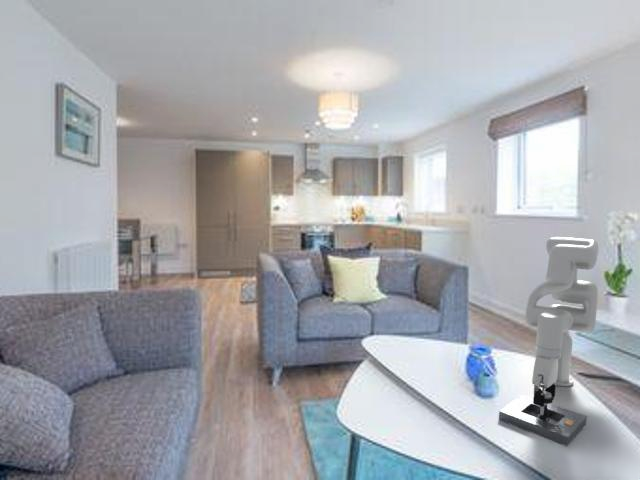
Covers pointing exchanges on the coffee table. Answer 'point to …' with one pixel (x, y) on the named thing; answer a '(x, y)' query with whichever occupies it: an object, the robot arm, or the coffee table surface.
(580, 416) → the frame
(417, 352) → the coffee table surface
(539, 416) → the black knob lever
